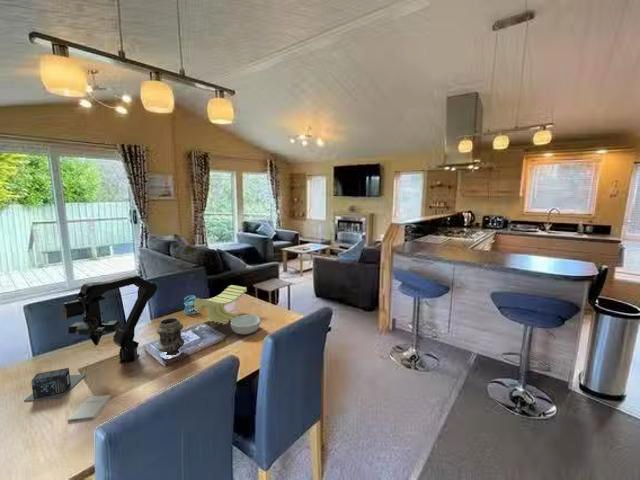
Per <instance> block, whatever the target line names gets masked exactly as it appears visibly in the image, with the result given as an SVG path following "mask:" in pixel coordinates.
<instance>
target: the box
mask: <svg viewBox="0 0 640 480" xmlns="http://www.w3.org/2000/svg"><path fill="white" fill-rule="evenodd" d="M70 375H71V374H70V367H65V368H61V369H60V368H59V369H55V370H50V371H44V372H38V373H36V374H35V376H34V377H33V378H32V380H30V382H31V390H32V393H33V398H34V399H37V398H42V397H46V396H51V395H55V394H60V393H64V392H67V391H68V389H69V387H70V385H71V382H70ZM67 393H68V392H67Z"/></svg>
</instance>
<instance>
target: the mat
mask: <svg viewBox="0 0 640 480" xmlns="http://www.w3.org/2000/svg"><path fill="white" fill-rule="evenodd" d="M86 376H87V374H85V373H83V374H70V382H71V385H70V387H69V389H68V391H67V392H64V393H60V394H55V395H51V396H46V397H42V398H37V399H34V398H33V392H32V393H31V394H30V395H28V396H27V397H26V398H25V399H24V400H23V402H35V401H38V402H39V401H47V400H48V401H49V400H61V399H62V398H63V397H64V396H65V395H67V394H68V392H70V391H71V390H72V389H73V388H74V387H76V386H77V384H79V382H81V380H83V379H84V378H85V377H86Z"/></svg>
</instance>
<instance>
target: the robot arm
mask: <svg viewBox="0 0 640 480" xmlns="http://www.w3.org/2000/svg"><path fill="white" fill-rule="evenodd" d="M132 285H134V286H135V287H138V289H137V298H136V300H135V302H134V304H133V307H132V309H131V311H130V312H129V315H128V317H127V319H126V321H125V323H124V325H123V326H122V325H121V321H120V320H110V321H108V322H107V323H105V320H104V319H103V316H102V314H104V311H103V310H102V308H101V301H104V300H106V297H104V296H103V295H104V294H105V293H108V292H109V291H113V290H117V289H121V288H124V287H128V286H132ZM79 290H80V291H79V292H78V294H77V295H76V297H75V298H74V300H72V301H67V302H66V301H65V302H63V303H61V304H62V306H61V308H60V314H61V316H62V318H63V320H65V321H66V320H69V319H73V318H77V317H80V316H82V321H79V322H77V321H76V322H74V323H73V324H71V325H69V326H68V328H67V334H69V335H70V334H78V335H79V336H84V335H85V336H88V337H89V339H90V340H91V341H92V343H93V344H94V346H99V344H100V340H101V338H102V335H103V334H104V332H107V333H108V332H110V333H111V332H115V334H114V335H112V338H113V339H112V341H113V343H114V345H116V346H117V347H120V348H119V353H118V354H119V361H118V362H119V363H134V362H135V360H136V359H137V358H138V357H140V353H139V354H138V347H139V345H140V342H138V341H135V340H134V339H135V331H136V330H135V329H136V327H137V324H138V322H139V321H140V318H141V316H142V314H143V312H144V309H145V308H146V305H147V303H148V301H149V300H151V298H153V297H154V295H155V294H156V293H157V291H158V285H157V283H155V282H151V281H148V280H147V279H144V278H142V277H141V276H140V275H136V274H131V275H128V276H124V277H123V276H122V277H119V278H116V279H112V280H108V281H99V282H98V281H97V282H96V281H94V282H86V283H83V284H82V286H81V287H80V289H79ZM83 315H84V316H83ZM121 326H122V327H121ZM120 327H121V328H120Z"/></svg>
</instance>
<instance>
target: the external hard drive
mask: <svg viewBox="0 0 640 480" xmlns="http://www.w3.org/2000/svg"><path fill="white" fill-rule="evenodd" d="M111 398H112V395H110V394H106V395H95V396H89V397H88V396H87V398H86V399H85V401H83V402H82V404H81V405H80V406H79V407H78V408H77V409H76V410H75V412H73V413H72V415H71V416H70V417H69V418H68V419H67V422H68V423H73V422H82V421H92V420H93V421H94V420H95V419H96V417H97V416H98V415H99V414H100V412H101V411H102V409H103V408H104V407H105V405H106V404H107V403H108V401H109V400H110V399H111Z"/></svg>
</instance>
